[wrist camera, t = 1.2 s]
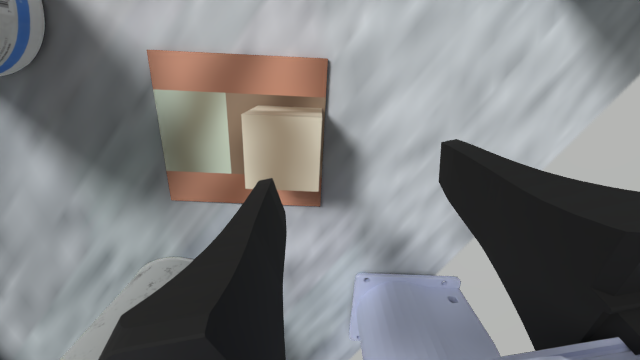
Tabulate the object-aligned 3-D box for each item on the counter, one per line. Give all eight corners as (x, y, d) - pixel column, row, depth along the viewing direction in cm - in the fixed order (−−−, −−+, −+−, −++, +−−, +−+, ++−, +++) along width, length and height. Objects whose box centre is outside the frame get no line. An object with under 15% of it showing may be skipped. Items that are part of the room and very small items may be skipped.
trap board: (327, 59, 19) (327, 58, 19) (320, 204, 23) (320, 206, 23) (149, 50, 19) (146, 49, 18) (173, 198, 23) (171, 200, 22)
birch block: (321, 108, 20) (322, 117, 16) (318, 168, 21) (318, 191, 17) (258, 105, 20) (241, 114, 15) (260, 165, 21) (245, 188, 17)
